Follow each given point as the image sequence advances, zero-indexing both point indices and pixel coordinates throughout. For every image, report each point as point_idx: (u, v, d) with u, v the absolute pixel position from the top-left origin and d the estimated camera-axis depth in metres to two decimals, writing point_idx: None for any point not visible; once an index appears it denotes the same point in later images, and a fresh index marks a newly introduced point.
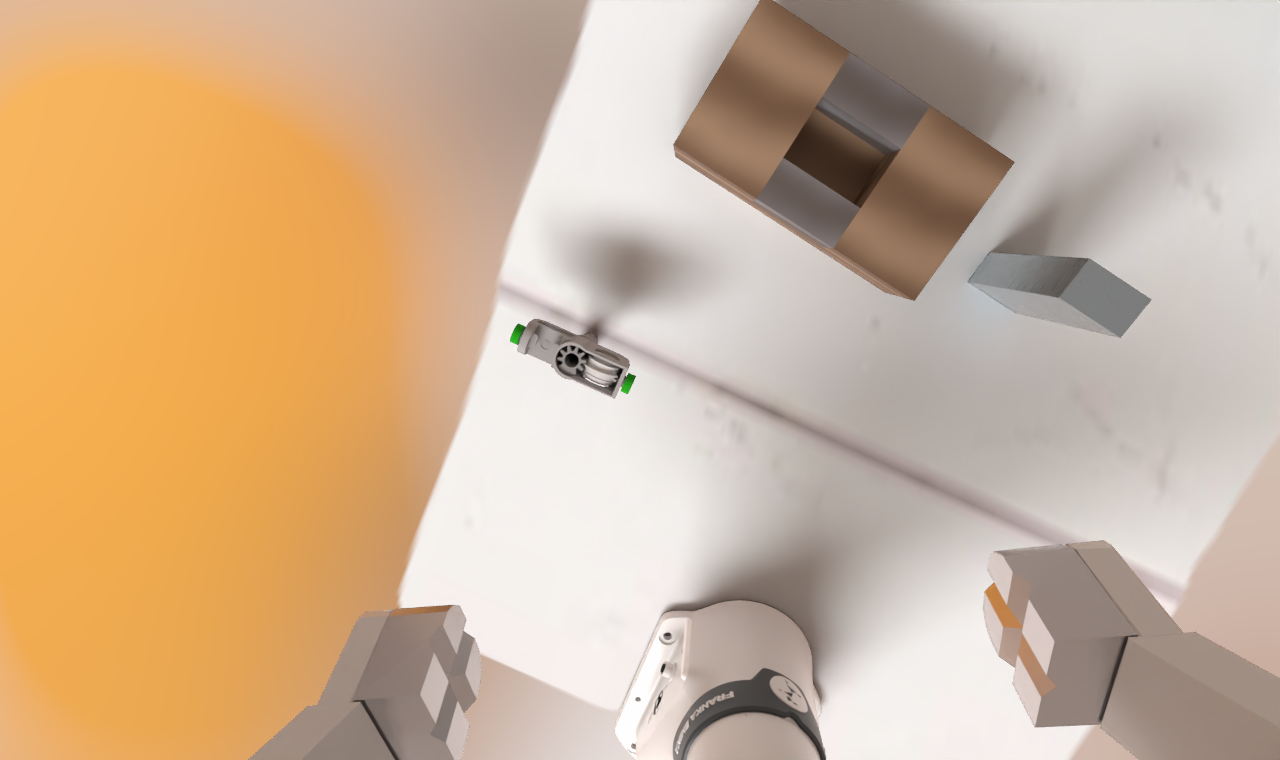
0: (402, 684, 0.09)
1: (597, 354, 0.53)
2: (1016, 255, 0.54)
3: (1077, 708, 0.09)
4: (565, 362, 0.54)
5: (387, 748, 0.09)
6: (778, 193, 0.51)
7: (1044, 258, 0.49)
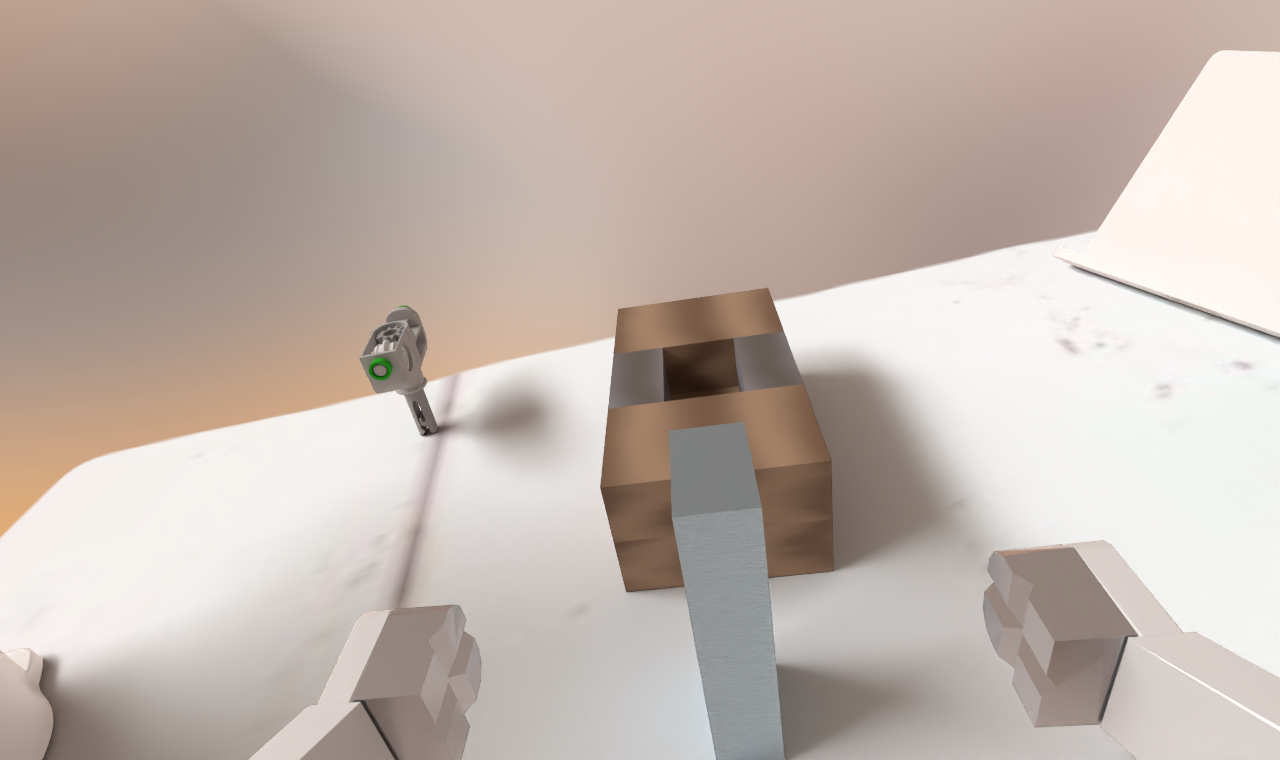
0: (402, 684, 0.09)
1: (402, 337, 0.52)
2: None
3: (1077, 708, 0.09)
4: (387, 334, 0.54)
5: (387, 747, 0.09)
6: (629, 360, 0.47)
7: None
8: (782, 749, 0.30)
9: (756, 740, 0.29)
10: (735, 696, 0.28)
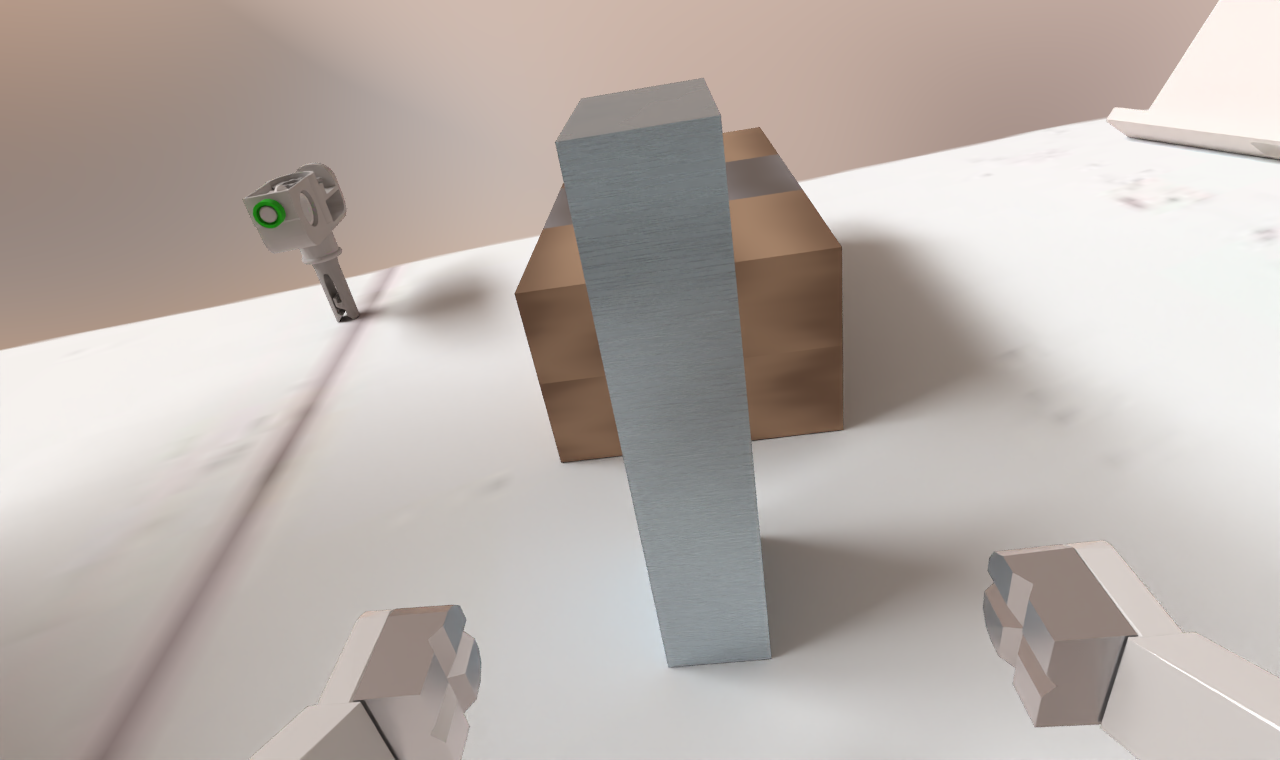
0: (402, 684, 0.09)
1: (302, 182, 0.42)
2: None
3: (1077, 708, 0.09)
4: None
5: (387, 747, 0.09)
6: None
7: None
8: (767, 637, 0.19)
9: (726, 622, 0.19)
10: (690, 540, 0.17)
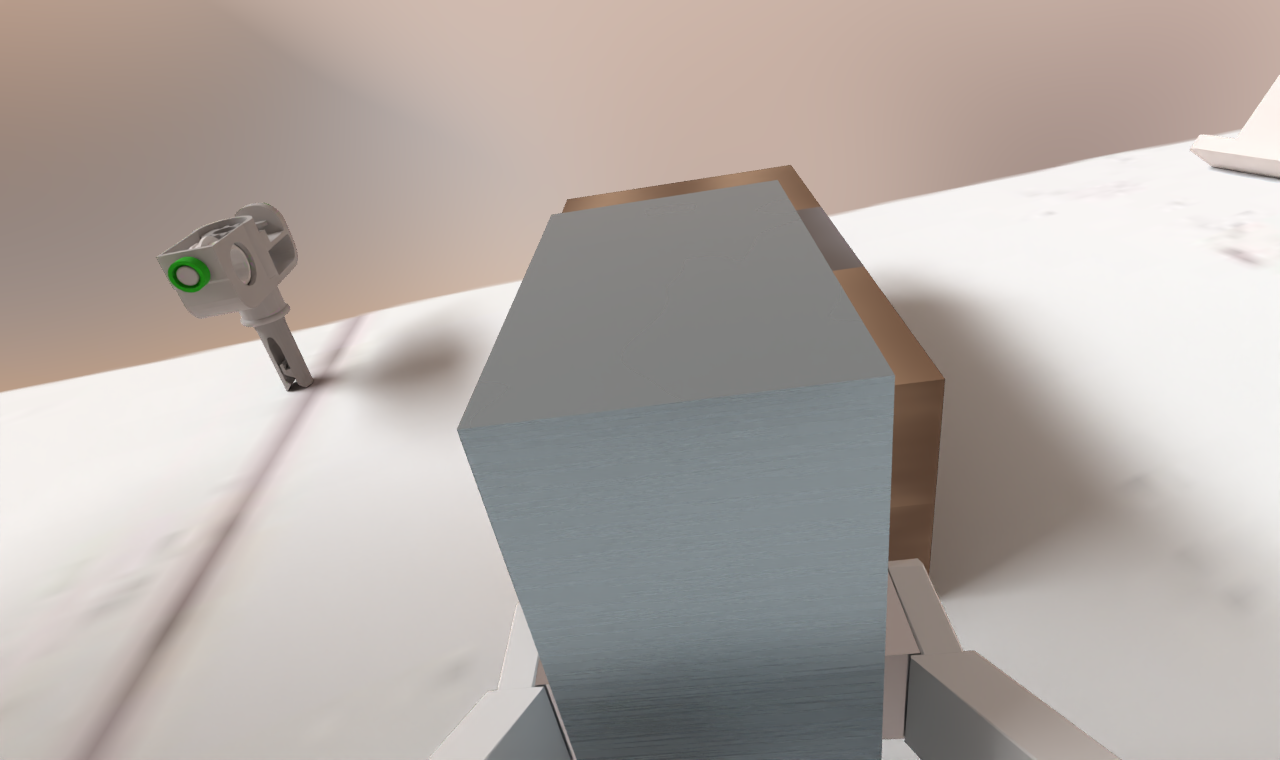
0: None
1: (235, 233, 0.34)
2: None
3: None
4: None
5: (561, 734, 0.09)
6: None
7: None
8: None
9: None
10: None
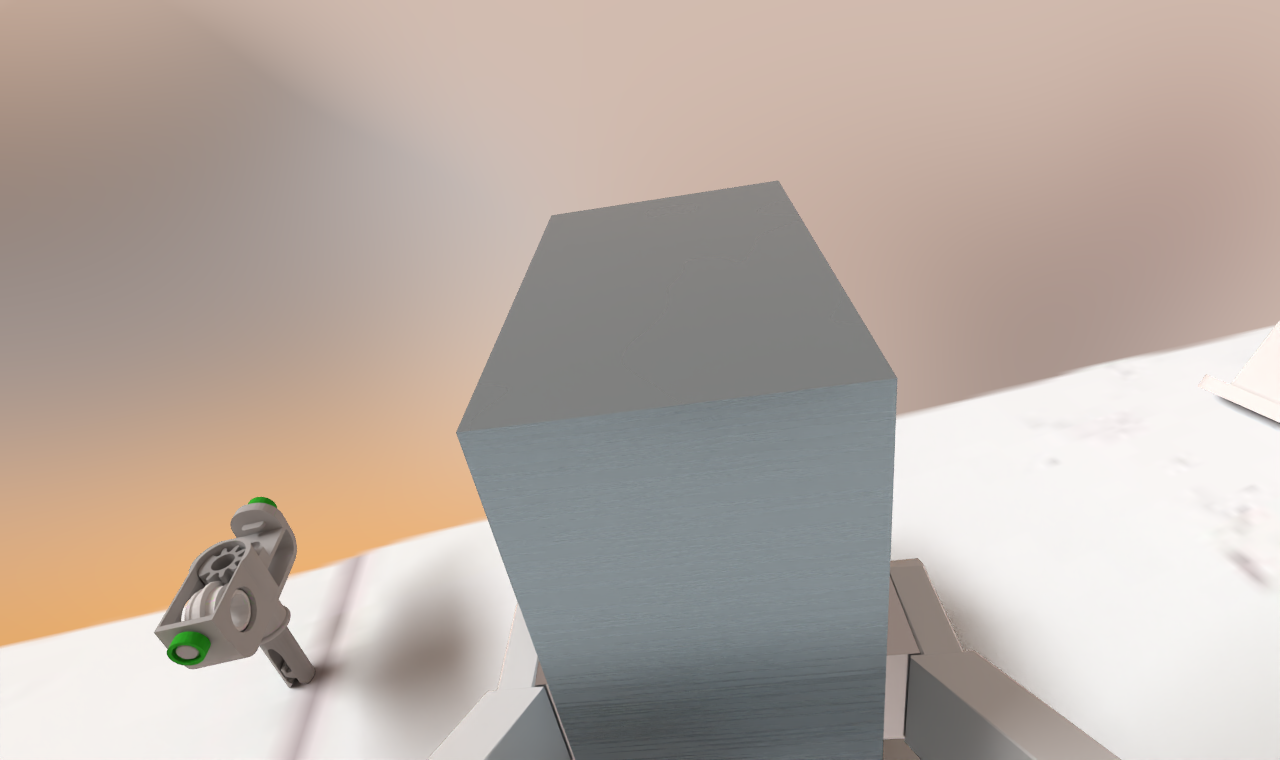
0: None
1: (234, 579, 0.34)
2: None
3: None
4: (220, 561, 0.36)
5: (561, 734, 0.09)
6: None
7: None
8: None
9: None
10: None
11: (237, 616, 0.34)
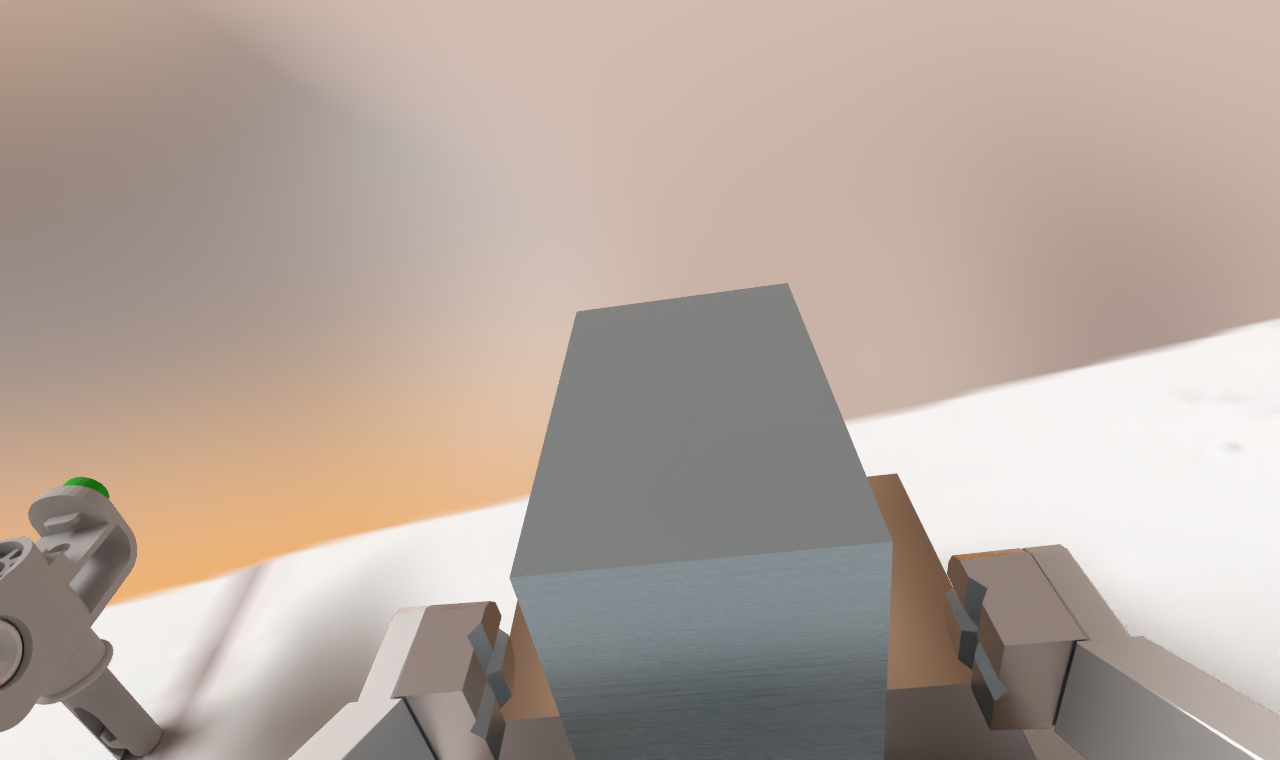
0: (443, 681, 0.09)
1: None
2: None
3: (1030, 711, 0.09)
4: None
5: (426, 744, 0.09)
6: None
7: None
8: None
9: None
10: None
11: None
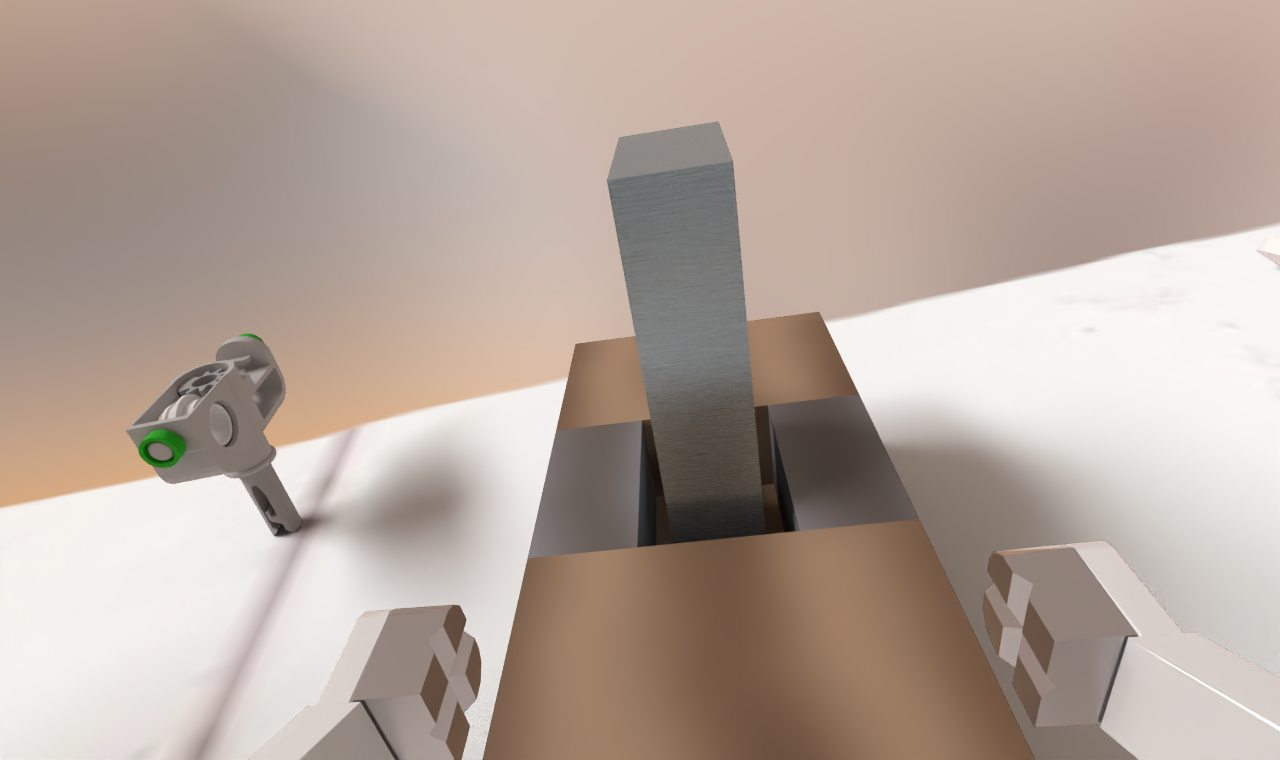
0: (402, 684, 0.09)
1: (215, 390, 0.32)
2: None
3: (1077, 708, 0.09)
4: (201, 382, 0.33)
5: (387, 748, 0.09)
6: (581, 444, 0.26)
7: None
8: None
9: None
10: (705, 496, 0.21)
11: (217, 434, 0.32)
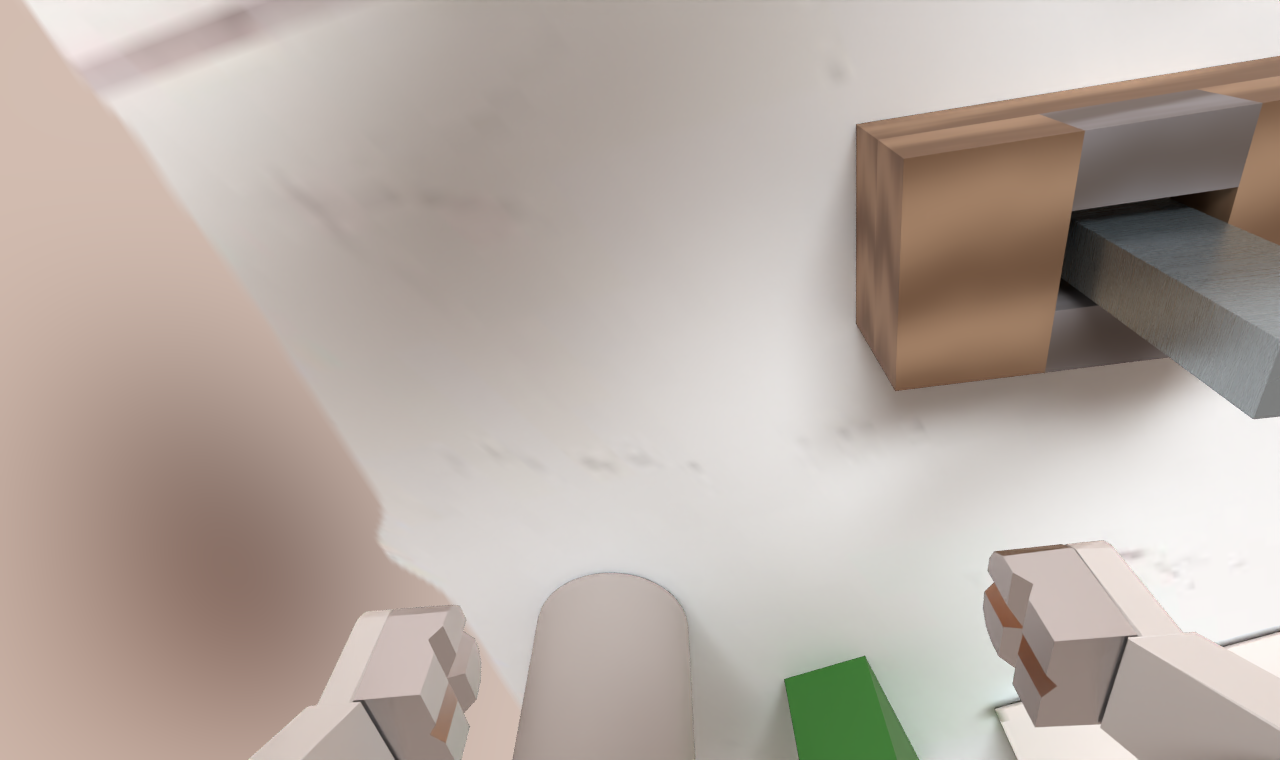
0: (402, 684, 0.09)
1: None
2: None
3: (1077, 708, 0.09)
4: None
5: (387, 748, 0.09)
6: (1224, 136, 0.29)
7: None
8: None
9: None
10: (1096, 262, 0.31)
11: None
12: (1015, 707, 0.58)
